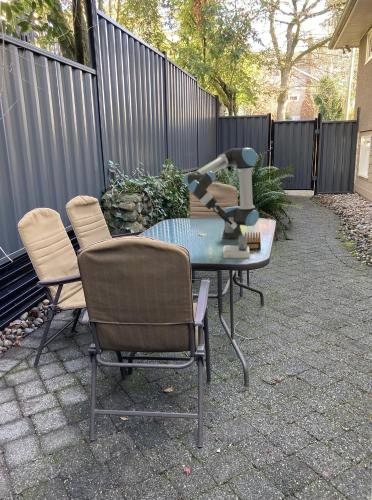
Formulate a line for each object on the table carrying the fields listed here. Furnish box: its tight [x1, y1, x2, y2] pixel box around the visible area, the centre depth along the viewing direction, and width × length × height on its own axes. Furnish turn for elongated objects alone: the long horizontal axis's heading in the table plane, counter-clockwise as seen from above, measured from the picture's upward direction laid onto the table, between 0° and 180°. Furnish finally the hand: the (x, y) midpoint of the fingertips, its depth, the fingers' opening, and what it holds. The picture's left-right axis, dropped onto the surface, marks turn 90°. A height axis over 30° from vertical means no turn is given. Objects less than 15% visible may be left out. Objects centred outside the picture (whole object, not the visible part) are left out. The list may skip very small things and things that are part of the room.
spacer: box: [224, 217, 233, 233], centre depth 241 cm, size 5×5×9 cm
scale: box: [222, 245, 251, 259], centre depth 241 cm, size 17×16×4 cm
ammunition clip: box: [244, 231, 262, 251], centre depth 250 cm, size 11×2×12 cm, turn 88°
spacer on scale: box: [238, 234, 248, 251], centre depth 235 cm, size 5×5×9 cm
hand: (235, 226), depth 241 cm, fingers closed on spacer, 5 cm apart
